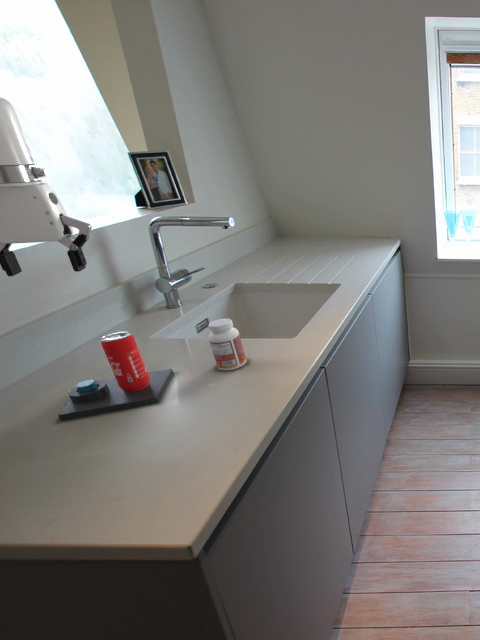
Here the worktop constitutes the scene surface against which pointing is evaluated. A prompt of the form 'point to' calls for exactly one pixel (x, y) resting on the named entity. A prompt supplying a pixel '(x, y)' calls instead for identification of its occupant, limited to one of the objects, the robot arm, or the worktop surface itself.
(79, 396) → the scale
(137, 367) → the beverage can
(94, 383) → the tare button
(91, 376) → the worktop surface
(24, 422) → the worktop surface
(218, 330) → the pill bottle
